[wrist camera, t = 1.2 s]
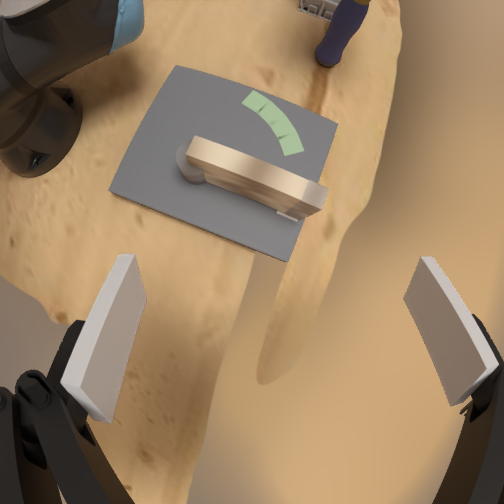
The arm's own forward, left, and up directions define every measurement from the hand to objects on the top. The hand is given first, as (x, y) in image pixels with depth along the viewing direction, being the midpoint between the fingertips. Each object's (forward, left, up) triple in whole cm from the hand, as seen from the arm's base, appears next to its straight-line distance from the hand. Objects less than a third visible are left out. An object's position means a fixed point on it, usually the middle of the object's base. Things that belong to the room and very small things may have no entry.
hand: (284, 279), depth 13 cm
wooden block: (-4, +8, -20) cm, 22 cm away
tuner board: (-8, +11, -23) cm, 27 cm away
